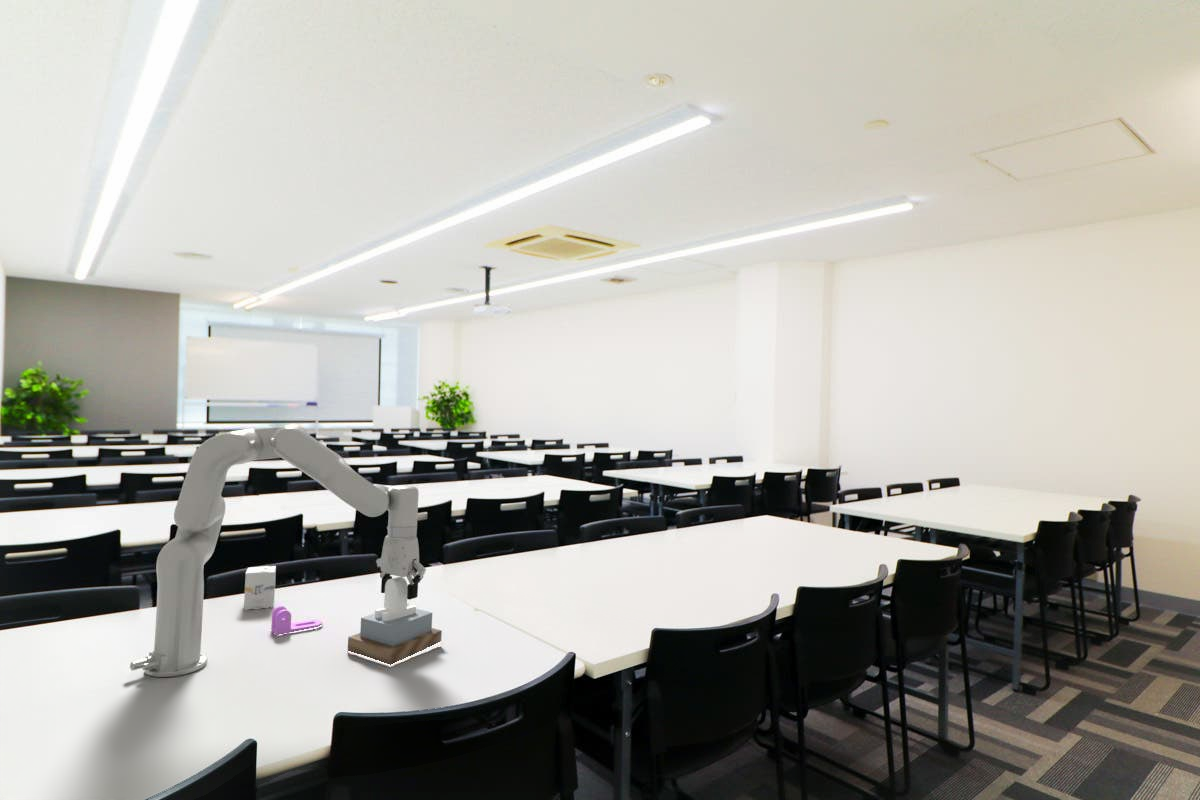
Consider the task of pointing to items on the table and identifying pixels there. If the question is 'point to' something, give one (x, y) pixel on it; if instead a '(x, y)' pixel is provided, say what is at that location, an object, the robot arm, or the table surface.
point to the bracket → (289, 622)
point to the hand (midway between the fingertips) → (399, 595)
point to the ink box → (259, 587)
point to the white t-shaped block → (395, 601)
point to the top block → (396, 627)
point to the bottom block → (392, 652)
